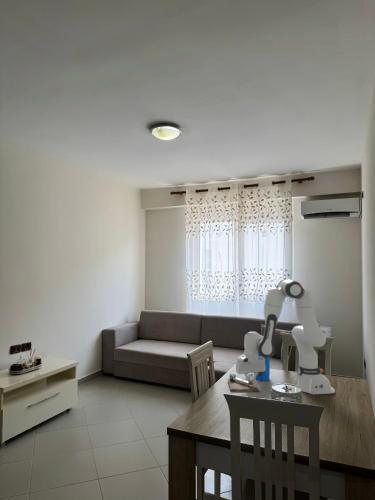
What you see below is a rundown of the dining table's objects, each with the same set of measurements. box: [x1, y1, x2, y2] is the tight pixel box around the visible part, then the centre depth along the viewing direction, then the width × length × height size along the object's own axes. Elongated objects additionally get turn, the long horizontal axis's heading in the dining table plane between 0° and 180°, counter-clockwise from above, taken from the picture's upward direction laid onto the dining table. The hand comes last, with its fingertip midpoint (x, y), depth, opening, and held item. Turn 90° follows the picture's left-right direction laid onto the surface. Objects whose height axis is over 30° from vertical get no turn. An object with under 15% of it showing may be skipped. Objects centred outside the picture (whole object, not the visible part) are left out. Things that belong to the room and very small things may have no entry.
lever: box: [229, 373, 254, 385], centre depth 226 cm, size 18×4×7 cm, turn 42°
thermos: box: [255, 352, 271, 382], centre depth 240 cm, size 11×11×25 cm
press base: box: [227, 378, 261, 393], centre depth 224 cm, size 18×19×2 cm
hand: (250, 379), depth 220 cm, fingers open, 3 cm apart
